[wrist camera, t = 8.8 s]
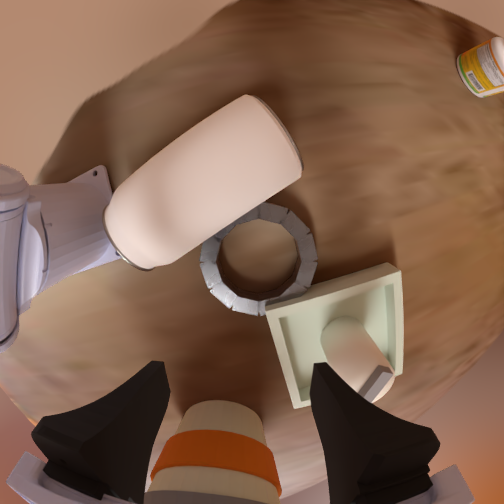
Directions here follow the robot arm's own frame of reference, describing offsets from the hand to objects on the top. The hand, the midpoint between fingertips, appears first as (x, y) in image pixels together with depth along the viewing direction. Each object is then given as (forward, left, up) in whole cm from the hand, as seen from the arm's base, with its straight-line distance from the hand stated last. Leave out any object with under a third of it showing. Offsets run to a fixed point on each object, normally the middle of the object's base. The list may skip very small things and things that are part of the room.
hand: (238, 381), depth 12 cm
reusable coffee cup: (-7, -15, -11) cm, 20 cm away
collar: (+2, +3, -10) cm, 11 cm away
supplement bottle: (+30, +16, -11) cm, 36 cm away
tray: (+7, -6, -10) cm, 14 cm away
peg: (+7, -6, -10) cm, 14 cm away
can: (+6, +11, -7) cm, 14 cm away
